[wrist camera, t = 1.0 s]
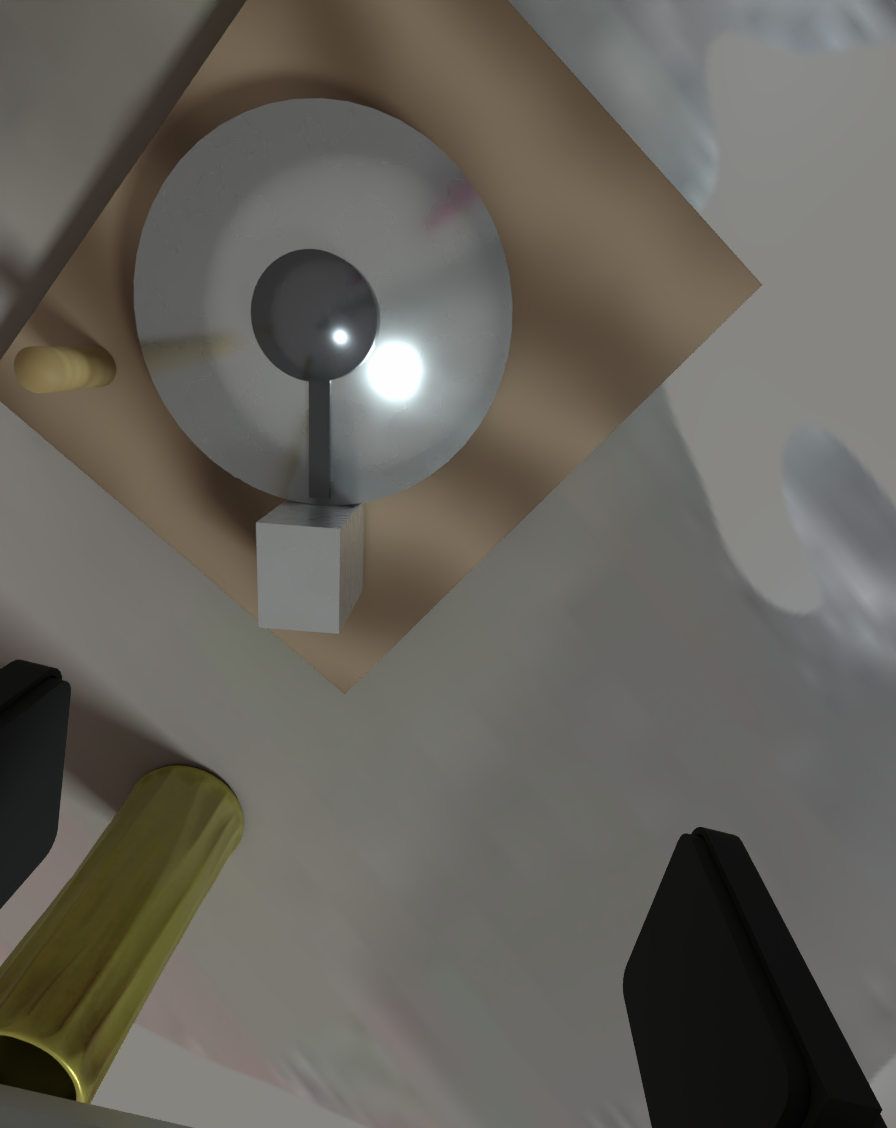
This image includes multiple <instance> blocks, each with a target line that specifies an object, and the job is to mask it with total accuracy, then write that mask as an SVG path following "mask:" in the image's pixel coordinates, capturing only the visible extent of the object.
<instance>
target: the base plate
mask: <svg viewBox="0 0 896 1128" xmlns="http://www.w3.org/2000/svg"><path fill="white" fill-rule="evenodd" d="M308 98H325V99H333V100H341V101H349V102H352V103H356V104H359V105H363V106H367V107H370V108H374V109H376V110H379V111H381V112H383V113H385V114H388V115H390V116H392V117H394V118H397V119H399V120H401V121H402V122H404V123H406V124H407V125H409V126H410V127H412V128H414V129H415V130H417V131H418V132H420V133H422V134H423V135H424V136H426V137H427V138H428V139H429V140H430V141H432V142H433V143H434V144H435V145H436V146H438V147H439V148H440V149H441V150H442V151H444V152H445V153H446V154H447V155H448V156H449V158H450V159H451V160H452V161H453V162H454V163H455V164H456V165H457V166H458V167H459V169H460V170H461V171H462V172H463V173H464V174H465V176H466V177H467V178H468V180H469V181H470V183H471V184H472V186H473V187H474V188H475V190H476V191H477V193H478V194H479V196H480V197H481V199H482V201H483V203H484V205H485V207H486V209H487V211H488V212H489V214H490V216H491V218H492V220H493V222H494V225H495V228H496V230H497V233H498V236H499V238H500V241H501V244H502V246H503V250H504V254H505V258H506V262H507V267H508V271H509V275H510V285H511V294H512V333H511V340H510V347H509V354H508V358H507V362H506V366H505V369H504V373H503V377H502V380H501V383H500V385H499V388H498V390H497V392H496V395H495V397H494V400H493V402H492V404H491V406H490V408H489V410H488V411H487V413H486V415H485V417H484V418H483V420H482V422H481V424H480V425H479V427H478V428H477V429H476V431H475V432H474V433H473V435H472V436H471V437H470V439H469V440H468V441H467V442H466V444H465V445H464V446H463V447H462V448H461V449H460V450H459V451H458V452H457V453H456V454H455V455H454V456H453V457H452V458H451V459H450V460H449V461H448V462H447V463H446V464H444V465H443V466H442V467H441V468H439V469H438V470H437V471H435V472H434V473H433V474H431V475H430V476H429V477H427V478H425V479H424V480H422V481H420V482H418V483H417V484H415V485H413V486H411V487H410V488H408V489H405V490H403V491H400V492H398V493H395V494H393V495H391V496H388V497H384V498H381V499H377V500H373V501H369V502H365V503H364V548H363V590H362V592H361V594H360V596H359V598H358V600H357V601H356V603H355V605H354V607H353V609H352V611H351V613H350V614H349V616H348V618H347V620H346V622H345V624H344V625H343V627H342V629H341V631H340V633H339V634H334V633H322V632H309V631H296V630H284V629H271V628H267V629H268V630H270V631H271V632H272V633H273V634H274V635H275V636H277V637H278V638H279V639H280V640H281V641H283V642H284V643H285V644H286V645H287V646H288V647H290V648H291V649H292V650H293V651H294V652H295V653H297V654H298V655H299V656H300V657H301V658H302V659H304V660H305V661H306V662H307V663H308V664H310V665H311V666H312V667H313V668H314V669H315V670H317V671H318V672H319V673H320V674H321V675H322V676H324V677H325V678H326V679H327V680H328V681H329V682H331V683H332V684H333V685H334V686H335V687H337V688H338V689H339V690H340V691H341V692H342V693H344V694H345V693H346V692H347V691H348V690H349V689H350V688H351V687H352V686H353V685H354V684H356V683H357V682H358V681H359V680H360V679H361V678H362V677H363V676H364V675H365V674H366V673H367V672H368V671H369V670H370V669H371V668H372V667H373V666H374V665H375V664H376V663H377V662H378V661H379V660H380V659H381V658H382V657H383V656H384V655H385V654H386V653H387V652H388V651H389V650H390V649H391V648H392V647H393V646H394V645H395V644H396V643H397V642H398V641H399V640H400V639H401V638H402V637H403V636H404V635H406V634H407V633H408V632H409V631H410V630H411V629H412V628H413V627H414V626H415V625H416V624H417V623H418V622H419V621H420V620H421V619H422V618H423V617H424V616H425V615H426V614H427V613H428V612H429V611H430V610H431V609H432V608H433V607H434V606H435V605H436V604H437V603H438V602H439V601H440V600H441V599H442V598H443V597H444V596H445V595H446V594H447V593H448V592H449V591H450V590H451V589H452V588H453V587H454V586H456V585H457V584H458V583H459V582H460V581H461V580H462V579H463V578H464V577H465V576H466V575H467V574H468V573H469V572H470V571H471V570H472V569H473V568H474V567H475V566H476V565H477V564H478V563H479V562H480V561H481V560H482V559H483V558H484V557H485V556H486V555H487V554H488V553H489V552H490V551H491V550H492V549H493V548H494V547H495V546H496V545H497V544H498V543H499V542H500V541H501V540H502V539H503V538H504V537H506V536H507V535H508V534H509V533H510V532H511V531H512V530H513V529H514V528H515V527H516V526H517V525H518V524H519V523H520V522H521V521H522V520H523V519H524V518H525V517H526V516H527V515H528V514H529V513H530V512H531V511H532V510H533V509H534V508H535V507H536V506H537V505H538V504H539V503H540V502H541V501H542V500H543V499H544V498H545V497H546V496H547V495H548V494H549V493H550V492H551V491H552V490H553V489H554V488H556V487H557V486H558V485H559V484H560V483H561V482H562V481H563V480H564V479H565V478H566V477H567V476H568V475H569V474H570V473H571V472H572V471H573V470H574V469H575V468H576V467H577V466H578V465H579V464H580V463H581V462H582V461H583V460H584V459H585V458H586V457H587V456H588V455H589V454H590V453H591V452H592V451H593V450H594V449H595V448H596V447H597V446H598V445H599V444H600V443H601V442H602V441H603V440H604V439H606V438H607V437H608V436H609V435H610V434H611V433H612V432H613V431H614V430H615V429H616V428H617V427H618V426H619V425H620V424H621V423H622V422H623V421H624V420H625V419H626V418H627V417H628V416H629V415H630V414H631V413H632V412H633V411H634V410H635V409H636V408H637V407H638V406H639V405H640V404H641V403H642V402H643V401H644V400H645V399H646V398H647V397H648V396H649V395H650V394H651V393H652V392H653V391H654V390H656V389H657V388H658V387H659V386H660V385H661V384H662V383H663V382H664V381H665V380H666V379H667V378H668V377H669V376H670V375H671V374H672V373H673V372H674V371H675V370H676V369H677V368H678V367H679V366H680V365H681V364H682V363H683V362H684V361H685V360H686V359H687V358H688V357H689V356H690V355H691V354H692V353H693V352H694V351H695V350H696V349H697V348H698V347H699V346H700V345H701V344H702V343H703V342H704V341H705V340H706V339H708V338H709V336H710V335H712V333H714V332H715V331H716V330H717V329H718V328H719V327H720V326H721V325H722V324H723V323H724V322H725V321H726V320H727V319H728V318H729V317H730V316H731V315H732V314H733V313H734V312H735V311H736V310H737V309H738V308H739V307H740V306H741V305H742V304H743V303H744V302H745V301H746V300H747V299H748V298H749V297H750V296H751V295H752V294H753V293H754V292H755V291H756V290H757V289H759V288H760V287H761V286H762V284H761V283H760V282H759V281H758V280H757V278H756V277H755V276H754V275H753V274H752V273H751V272H750V271H749V270H748V269H747V267H746V266H745V265H744V264H743V263H742V262H741V261H740V260H739V258H738V257H737V256H736V255H735V254H734V253H733V252H732V250H731V249H730V248H729V247H728V246H727V245H726V244H725V243H724V242H723V240H722V239H721V238H720V237H719V236H718V235H717V234H716V233H715V231H714V230H713V229H712V228H711V227H710V226H709V225H708V224H707V223H706V221H705V220H704V219H703V218H702V217H701V216H700V215H699V214H698V212H697V211H696V210H695V209H694V208H693V207H692V206H691V205H690V204H689V202H688V201H687V200H686V199H685V198H684V197H683V196H682V195H681V193H680V192H679V191H678V190H677V189H676V188H675V187H674V186H673V185H672V183H671V182H670V181H669V180H668V179H667V178H666V177H665V176H664V175H663V173H662V172H661V171H660V170H659V169H658V168H657V167H656V166H655V164H654V163H653V162H652V161H651V160H650V159H649V158H648V157H647V156H646V154H645V153H644V152H643V151H642V150H641V149H640V148H639V147H638V145H637V144H636V143H635V142H634V141H633V140H632V139H631V138H630V137H629V135H628V134H627V133H626V132H625V131H624V130H623V129H622V128H621V126H620V125H619V124H618V123H617V122H616V121H615V120H614V119H613V118H612V116H611V115H610V114H609V113H608V112H607V111H606V110H605V109H604V107H603V106H602V105H601V104H600V103H599V102H598V101H597V100H596V99H595V97H594V96H593V95H592V94H591V93H590V92H589V91H588V90H587V88H586V87H585V86H584V85H583V84H582V83H581V82H580V81H579V80H578V78H577V77H576V76H575V75H574V74H573V73H572V72H571V71H570V69H569V68H568V67H567V66H566V65H565V64H564V63H563V62H562V61H561V59H560V58H559V57H558V56H557V55H556V54H555V53H554V52H553V51H552V49H551V48H550V47H549V46H548V45H547V44H546V43H545V42H544V40H543V39H542V38H541V37H540V36H539V35H538V34H537V33H536V32H535V30H534V29H533V28H532V27H531V26H530V25H529V24H528V23H527V21H526V20H525V19H524V18H523V17H522V16H521V15H520V14H519V13H518V11H517V10H516V9H515V8H514V7H513V6H512V5H511V4H510V2H509V1H508V0H247V1H246V2H245V3H244V5H243V6H242V8H241V9H240V11H239V12H238V14H237V15H236V17H235V18H234V20H233V21H232V22H231V24H230V25H229V27H228V28H227V30H226V31H225V33H224V34H223V36H222V37H221V39H220V40H219V41H218V43H217V44H216V46H215V47H214V49H213V50H212V52H211V53H210V55H209V56H208V58H207V59H206V60H205V62H204V63H203V65H202V66H201V68H200V69H199V71H198V72H197V74H196V75H195V77H194V78H193V79H192V81H191V82H190V84H189V85H188V87H187V88H186V90H185V91H184V93H183V94H182V96H181V97H180V98H179V100H178V101H177V103H176V104H175V106H174V107H173V109H172V110H171V112H170V113H169V115H168V116H167V117H166V119H165V120H164V122H163V123H162V125H161V126H160V128H159V129H158V131H157V132H156V134H155V135H154V136H153V138H152V139H151V141H150V142H149V144H148V145H147V147H146V148H145V150H144V151H143V153H142V154H141V155H140V157H139V158H138V160H137V161H136V163H135V164H134V166H133V167H132V169H131V170H130V172H129V173H128V174H127V176H126V177H125V179H124V180H123V182H122V183H121V185H120V186H119V188H118V189H117V191H116V192H115V193H114V195H113V196H112V198H111V199H110V201H109V202H108V204H107V205H106V207H105V208H104V210H103V211H102V212H101V214H100V215H99V217H98V218H97V220H96V221H95V223H94V224H93V226H92V227H91V229H90V230H89V231H88V233H87V234H86V236H85V237H84V239H83V240H82V242H81V243H80V245H79V246H78V248H77V249H76V250H75V252H74V253H73V255H72V256H71V258H70V259H69V261H68V262H67V264H66V265H65V267H64V268H63V269H62V271H61V272H60V274H59V275H58V277H57V278H56V280H55V281H54V283H53V284H52V286H51V287H50V288H49V290H48V291H47V293H46V294H45V296H44V297H43V299H42V300H41V302H40V303H39V305H38V306H37V307H36V309H35V310H34V312H33V313H32V315H31V316H30V318H29V319H28V321H27V322H26V324H25V325H24V326H23V328H22V329H21V331H20V332H19V334H18V335H17V337H16V338H15V340H14V341H13V343H12V344H11V345H10V347H9V348H8V350H7V351H6V353H5V354H4V356H3V357H2V359H1V360H0V401H1V402H2V403H3V404H4V405H5V406H7V407H8V408H9V409H10V410H11V411H12V412H14V413H15V414H16V415H17V416H18V417H19V418H21V419H22V420H23V421H24V422H25V423H27V424H28V425H29V426H30V427H31V428H32V429H34V430H35V431H36V432H37V433H38V434H39V435H41V436H42V437H43V438H44V439H45V440H46V441H48V442H49V443H50V444H51V445H52V446H54V447H55V448H56V449H57V450H58V451H59V452H61V453H62V454H63V455H64V456H65V457H66V458H68V459H69V460H70V461H71V462H72V463H73V464H75V465H76V466H77V467H78V468H79V469H81V470H82V471H83V472H84V473H85V474H86V475H88V476H89V477H90V478H91V479H92V480H93V481H95V482H96V483H97V484H98V485H99V486H101V487H102V488H103V489H104V490H105V491H106V492H108V493H109V494H110V495H111V496H112V497H113V498H115V499H116V500H117V501H118V502H119V503H120V504H122V505H123V506H124V507H125V508H126V509H128V510H129V511H130V512H131V513H132V514H133V515H135V516H136V517H137V518H138V519H139V520H140V521H142V522H143V523H144V524H145V525H146V526H147V527H149V528H150V529H151V530H152V531H153V532H155V533H156V534H157V535H158V536H159V537H160V538H162V539H163V540H164V541H165V542H166V543H167V544H169V545H170V546H171V547H172V548H173V549H174V550H176V551H177V552H178V553H179V554H180V555H182V556H183V557H184V558H185V559H186V560H187V561H189V562H190V563H191V564H192V565H193V566H194V567H196V568H197V569H198V570H199V571H200V572H201V573H203V574H204V575H205V576H206V577H207V578H209V579H210V580H211V581H212V582H213V583H214V584H216V585H217V586H218V587H219V588H220V589H221V590H223V591H224V592H225V593H226V594H227V595H229V596H230V597H231V598H232V599H233V600H234V601H236V602H237V603H238V604H239V605H240V606H241V607H243V608H244V609H245V610H246V611H247V612H248V613H250V614H251V615H252V616H253V617H254V618H256V619H257V620H258V583H257V545H256V522H257V521H259V520H260V519H261V518H263V517H264V516H265V515H267V514H268V513H269V512H271V511H272V510H274V509H275V508H276V507H278V506H279V505H280V504H282V503H283V502H284V501H286V500H287V499H284V498H281V497H277V496H274V495H271V494H269V493H266V492H264V491H262V490H259V489H257V488H254V487H252V486H250V485H249V484H247V483H245V482H243V481H241V480H240V479H238V478H236V477H234V476H232V475H231V474H230V473H228V472H227V471H226V470H224V469H223V468H221V467H220V466H219V465H217V464H216V463H215V462H213V461H212V460H211V459H210V458H209V457H208V456H207V455H206V454H204V453H203V452H202V451H201V450H200V449H199V448H198V447H197V446H196V445H195V444H194V443H193V442H192V441H191V439H190V438H189V437H188V436H187V435H186V434H185V432H184V431H183V430H182V429H181V428H180V427H179V425H178V424H177V422H176V421H175V419H174V418H173V416H172V415H171V414H170V412H169V411H168V409H167V408H166V406H165V404H164V403H163V401H162V399H161V397H160V395H159V393H158V391H157V389H156V387H155V385H154V383H153V381H152V378H151V376H150V373H149V370H148V368H147V365H146V363H145V360H144V357H143V353H142V349H141V345H140V341H139V337H138V333H137V326H136V318H135V311H134V273H135V264H136V255H137V251H138V246H139V242H140V238H141V234H142V230H143V227H144V224H145V222H146V219H147V216H148V214H149V211H150V208H151V206H152V203H153V202H154V200H155V198H156V196H157V194H158V192H159V191H160V189H161V187H162V185H163V183H164V181H165V180H166V179H167V177H168V176H169V174H170V173H171V172H172V170H173V169H174V168H175V166H176V165H177V164H178V162H179V161H180V160H181V159H182V158H183V157H184V156H185V155H186V154H187V153H188V151H189V150H190V149H191V148H192V147H193V146H194V145H195V144H196V143H197V142H198V141H200V140H201V139H202V138H204V137H205V136H206V135H208V134H209V133H210V132H212V131H213V130H214V129H216V128H217V127H218V126H220V125H221V124H223V123H225V122H227V121H229V120H230V119H232V118H234V117H236V116H238V115H240V114H242V113H244V112H246V111H249V110H252V109H255V108H258V107H261V106H263V105H266V104H270V103H275V102H281V101H286V100H291V99H308Z"/></svg>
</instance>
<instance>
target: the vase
mask: <svg viewBox="0 0 896 1128" xmlns="http://www.w3.org/2000/svg"><path fill="white" fill-rule="evenodd" d="M243 827H244V818H243V812H242V809H241V806H240V804H239V802H238V800H237V798H236V796H235V795H234V794H233V792H232V791H231V790H230V788H229V787H228V786H227V785H226V784H224V783H223V782H222V781H221V780H219V779H218V778H217V777H215V776H213V775H212V774H210V773H208V772H206V771H204V770H201V769H198V768H194V767H189V766H182V765H174V766H167V767H163V768H159V769H156V770H154V771H151V772H149V773H148V774H146V775H145V776H143V777H142V778H141V779H140V780H139V781H138V782H137V783H136V785H135V786H134V787H133V789H132V790H131V792H130V794H129V796H128V798H127V799H126V801H125V802H124V804H123V805H122V807H121V808H120V810H119V811H118V813H117V814H116V816H115V817H114V818H113V820H112V821H111V822H110V824H109V825H108V826H107V828H106V829H105V830H104V832H103V833H102V835H101V836H100V837H99V839H98V840H97V842H96V843H95V844H94V846H93V847H92V849H91V850H90V852H89V853H88V855H87V856H86V858H85V859H84V860H83V862H82V863H81V865H80V866H79V868H78V869H77V871H76V872H75V873H74V875H73V876H72V878H71V879H70V880H69V881H68V882H67V883H66V885H65V886H64V887H63V889H62V890H61V891H60V893H59V894H58V895H57V897H56V898H55V899H54V900H53V902H52V903H51V904H50V906H49V907H48V908H47V909H46V911H45V912H44V913H43V914H42V916H41V917H40V918H39V919H38V920H37V922H36V923H35V924H34V925H33V926H32V928H31V929H30V930H29V931H28V932H27V934H26V935H25V936H24V937H23V939H22V940H21V941H20V942H19V944H18V945H17V946H16V948H15V949H14V950H13V951H12V953H11V954H10V955H9V956H8V958H7V959H6V960H5V961H4V963H3V964H2V965H1V966H0V1084H2V1085H7V1086H11V1087H16V1088H20V1089H24V1090H29V1091H33V1092H38V1093H42V1094H47V1095H51V1096H56V1097H60V1098H64V1099H69V1100H73V1101H78V1102H82V1103H87V1104H90V1103H91V1101H92V1099H93V1097H94V1095H95V1093H96V1091H97V1089H98V1088H99V1086H100V1084H101V1082H102V1080H103V1079H104V1077H105V1075H106V1073H107V1071H108V1069H109V1068H110V1066H111V1064H112V1062H113V1060H114V1058H115V1056H116V1054H117V1053H118V1050H119V1049H120V1047H121V1045H122V1043H123V1042H124V1040H125V1038H126V1036H127V1034H128V1032H129V1030H130V1028H131V1027H132V1025H133V1023H134V1021H135V1020H136V1018H137V1016H138V1014H139V1012H140V1011H141V1009H142V1007H143V1005H144V1003H145V1002H146V1000H147V998H148V996H149V994H150V993H151V991H152V989H153V987H154V985H155V984H156V982H157V980H158V978H159V976H160V975H161V973H162V971H163V969H164V967H165V966H166V964H167V962H168V960H169V958H170V957H171V955H172V953H173V951H174V950H175V948H176V946H177V945H178V943H179V941H180V940H181V938H182V936H183V934H184V933H185V931H186V929H187V927H188V925H189V924H190V922H191V920H192V918H193V917H194V915H195V913H196V911H197V909H198V908H199V906H200V904H201V903H202V901H203V900H204V898H205V896H206V895H207V893H208V892H209V890H210V888H211V887H212V885H213V883H214V882H215V880H216V878H217V876H218V875H219V873H220V871H221V869H222V867H223V866H224V864H225V862H226V860H227V859H228V857H229V856H230V855H231V853H232V852H233V851H234V850H235V849H236V847H237V845H238V844H239V842H240V840H241V837H242V833H243Z"/></svg>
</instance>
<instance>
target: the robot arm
mask: <svg viewBox="0 0 896 1128" xmlns="http://www.w3.org/2000/svg"><path fill="white" fill-rule="evenodd" d="M70 695H71V687H70V684H69V683H68V682H67V681H63V680H62V675H61V672H60V671H59V670H58V669H56V668H52V667H48V666H44V665H40V664H36V663H32V662H28V661H24V660H15V661H13V662H11V663H9V664H8V665H6V666H5V667H3V668H2V669H0V909H1V908H2V907H3V905H4V904H5V903H6V902H7V901H8V900H9V898H10V897H11V896H12V895H13V894H14V893H15V892H16V890H17V889H18V888H19V887H20V886H21V885H22V884H23V882H24V881H25V880H26V879H27V878H28V877H29V875H30V874H31V873H32V872H33V871H34V870H35V869H36V867H37V866H38V865H39V864H40V863H41V862H42V861H43V859H44V858H45V857H46V856H47V854H48V853H49V851H50V849H51V848H52V845H53V843H54V841H55V838H56V835H57V830H58V820H59V810H60V800H61V789H62V779H63V768H64V758H65V747H66V737H67V726H68V716H69V705H70ZM623 994H624V1000H625V1004H626V1009H627V1014H628V1018H629V1023H630V1027H631V1032H632V1037H633V1041H634V1046H635V1051H636V1055H637V1060H638V1065H639V1069H640V1074H641V1079H642V1083H643V1088H644V1093H645V1097H646V1102H647V1107H648V1111H649V1116H650V1121H651V1125H652V1128H887V1126H886V1124H885V1122H884V1120H883V1118H882V1116H881V1115H880V1113H881V1111H882V1108H881V1106H880V1104H879V1103H878V1101H877V1099H876V1097H875V1095H874V1093H873V1091H872V1089H871V1087H870V1085H869V1083H868V1081H867V1080H866V1078H865V1076H864V1074H863V1072H862V1070H861V1068H860V1066H859V1064H858V1062H857V1060H856V1059H855V1057H854V1055H853V1053H852V1051H851V1049H850V1047H849V1045H848V1043H847V1041H846V1039H845V1038H844V1036H843V1034H842V1032H841V1030H840V1028H839V1026H838V1024H837V1022H836V1020H835V1018H834V1017H833V1015H832V1013H831V1011H830V1009H829V1007H828V1005H827V1003H826V1001H825V999H824V997H823V996H822V994H821V992H820V990H819V988H818V986H817V984H816V982H815V980H814V978H813V976H812V974H811V973H810V971H809V969H808V967H807V965H806V963H805V961H804V959H803V957H802V955H801V953H800V952H799V950H798V948H797V946H796V944H795V942H794V940H793V938H792V936H791V934H790V932H789V931H788V929H787V927H786V925H785V923H784V921H783V919H782V917H781V915H780V913H779V911H778V910H777V908H776V906H775V904H774V902H773V900H772V898H771V896H770V894H769V892H768V890H767V889H766V887H765V885H764V883H763V881H762V879H761V877H760V875H759V873H758V871H757V869H756V867H755V866H754V864H753V862H752V860H751V858H750V856H749V854H748V852H747V850H746V848H745V846H744V845H743V843H742V841H741V840H740V838H739V837H737V836H735V835H732V834H728V833H724V832H720V831H716V830H711V829H707V828H703V827H698V828H696V829H695V830H694V831H693V832H692V834H691V835H690V834H683V835H682V836H681V837H680V839H679V840H678V842H677V845H676V847H675V850H674V852H673V855H672V857H671V859H670V862H669V864H668V867H667V869H666V871H665V874H664V876H663V879H662V881H661V883H660V886H659V888H658V891H657V893H656V896H655V898H654V900H653V903H652V905H651V908H650V910H649V912H648V915H647V917H646V920H645V922H644V924H643V927H642V929H641V932H640V934H639V936H638V939H637V941H636V944H635V946H634V949H633V951H632V953H631V956H630V958H629V961H628V963H627V965H626V969H625V972H624V978H623ZM0 1128H192V1127H188V1126H183V1125H179V1124H175V1123H170V1122H166V1121H161V1120H157V1119H153V1118H149V1117H144V1116H140V1115H135V1114H131V1113H126V1112H122V1111H118V1110H113V1109H109V1108H104V1107H100V1106H96V1105H91V1104H87V1103H82V1102H78V1101H73V1100H69V1099H64V1098H60V1097H56V1096H51V1095H47V1094H42V1093H38V1092H33V1091H29V1090H24V1089H20V1088H16V1087H11V1086H7V1085H2V1084H0Z"/></svg>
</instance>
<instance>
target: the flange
mask: <svg viewBox="0 0 896 1128" xmlns="http://www.w3.org/2000/svg"><path fill="white" fill-rule="evenodd" d="M134 311H135V318H136V326H137V333H138V337H139V341H140V345H141V349H142V353H143V357H144V360H145V363H146V365H147V368H148V370H149V373H150V376H151V378H152V381H153V383H154V385H155V387H156V389H157V391H158V393H159V395H160V397H161V399H162V401H163V403H164V404H165V406H166V408H167V409H168V411H169V412H170V414H171V415H172V416H173V418H174V419H175V421H176V422H177V424H178V425H179V427H180V428H181V429H182V430H183V431H184V432H185V434H186V435H187V436H188V437H189V438H190V439H191V441H192V442H193V443H194V444H195V445H196V446H197V447H198V448H199V449H200V450H201V451H202V452H203V453H204V454H206V455H207V456H208V457H209V458H210V459H211V460H212V461H213V462H215V463H216V464H217V465H219V466H220V467H221V468H223V469H224V470H226V471H227V472H228V473H230V474H231V475H232V476H234V477H236V478H238V479H240V480H241V481H243V482H245V483H247V484H249V485H250V486H252V487H254V488H257V489H259V490H262V491H264V492H266V493H269V494H271V495H274V496H277V497H281V498H284V499H287V500H286V501H284V502H283V503H282V504H280V505H279V506H278V507H276V508H275V509H274V510H272V511H271V512H269V513H268V514H267V515H265V516H264V517H263V518H261V519H260V520H259V521H257V522H256V545H257V583H258V621H259V628H271V629H284V630H296V631H309V632H322V633H334V634H339V633H340V631H341V629H342V627H343V625H344V624H345V622H346V620H347V618H348V616H349V614H350V613H351V611H352V609H353V607H354V605H355V603H356V601H357V600H358V598H359V596H360V594H361V592H362V590H363V548H364V503H365V502H369V501H373V500H377V499H381V498H384V497H388V496H391V495H393V494H395V493H398V492H400V491H403V490H405V489H408V488H410V487H411V486H413V485H415V484H417V483H418V482H420V481H422V480H424V479H425V478H427V477H429V476H430V475H431V474H433V473H434V472H435V471H437V470H438V469H439V468H441V467H442V466H443V465H444V464H446V463H447V462H448V461H449V460H450V459H451V458H452V457H453V456H454V455H455V454H456V453H457V452H458V451H459V450H460V449H461V448H462V447H463V446H464V445H465V444H466V442H467V441H468V440H469V439H470V437H471V436H472V435H473V433H474V432H475V431H476V429H477V428H478V427H479V425H480V424H481V422H482V420H483V418H484V417H485V415H486V413H487V411H488V410H489V408H490V406H491V404H492V402H493V400H494V397H495V395H496V392H497V390H498V388H499V385H500V383H501V380H502V377H503V373H504V369H505V366H506V362H507V358H508V354H509V347H510V340H511V333H512V294H511V285H510V275H509V271H508V267H507V262H506V258H505V254H504V250H503V246H502V244H501V241H500V238H499V236H498V233H497V230H496V228H495V225H494V222H493V220H492V218H491V216H490V214H489V212H488V211H487V209H486V207H485V205H484V203H483V201H482V199H481V197H480V196H479V194H478V193H477V191H476V190H475V188H474V187H473V186H472V184H471V183H470V181H469V180H468V178H467V177H466V176H465V174H464V173H463V172H462V171H461V170H460V169H459V167H458V166H457V165H456V164H455V163H454V162H453V161H452V160H451V159H450V158H449V156H448V155H447V154H446V153H445V152H444V151H442V150H441V149H440V148H439V147H438V146H436V145H435V144H434V143H433V142H432V141H430V140H429V139H428V138H427V137H426V136H424V135H423V134H422V133H420V132H418V131H417V130H415V129H414V128H412V127H410V126H409V125H407V124H406V123H404V122H402V121H401V120H399V119H397V118H394V117H392V116H390V115H388V114H385V113H383V112H381V111H379V110H376V109H374V108H370V107H367V106H363V105H359V104H356V103H352V102H349V101H341V100H333V99H325V98H308V99H291V100H286V101H281V102H275V103H270V104H266V105H263V106H261V107H258V108H255V109H252V110H249V111H246V112H244V113H242V114H240V115H238V116H236V117H234V118H232V119H230V120H229V121H227V122H225V123H223V124H221V125H220V126H218V127H217V128H216V129H214V130H213V131H212V132H210V133H209V134H208V135H206V136H205V137H204V138H202V139H201V140H200V141H198V142H197V143H196V144H195V145H194V146H193V147H192V148H191V149H190V150H189V151H188V153H187V154H186V155H185V156H184V157H183V158H182V159H181V160H180V161H179V162H178V164H177V165H176V166H175V168H174V169H173V170H172V172H171V173H170V174H169V176H168V177H167V179H166V180H165V181H164V183H163V185H162V187H161V189H160V191H159V192H158V194H157V196H156V198H155V200H154V202H153V203H152V206H151V208H150V211H149V214H148V216H147V219H146V222H145V224H144V227H143V230H142V234H141V238H140V242H139V246H138V251H137V255H136V264H135V273H134Z"/></svg>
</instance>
